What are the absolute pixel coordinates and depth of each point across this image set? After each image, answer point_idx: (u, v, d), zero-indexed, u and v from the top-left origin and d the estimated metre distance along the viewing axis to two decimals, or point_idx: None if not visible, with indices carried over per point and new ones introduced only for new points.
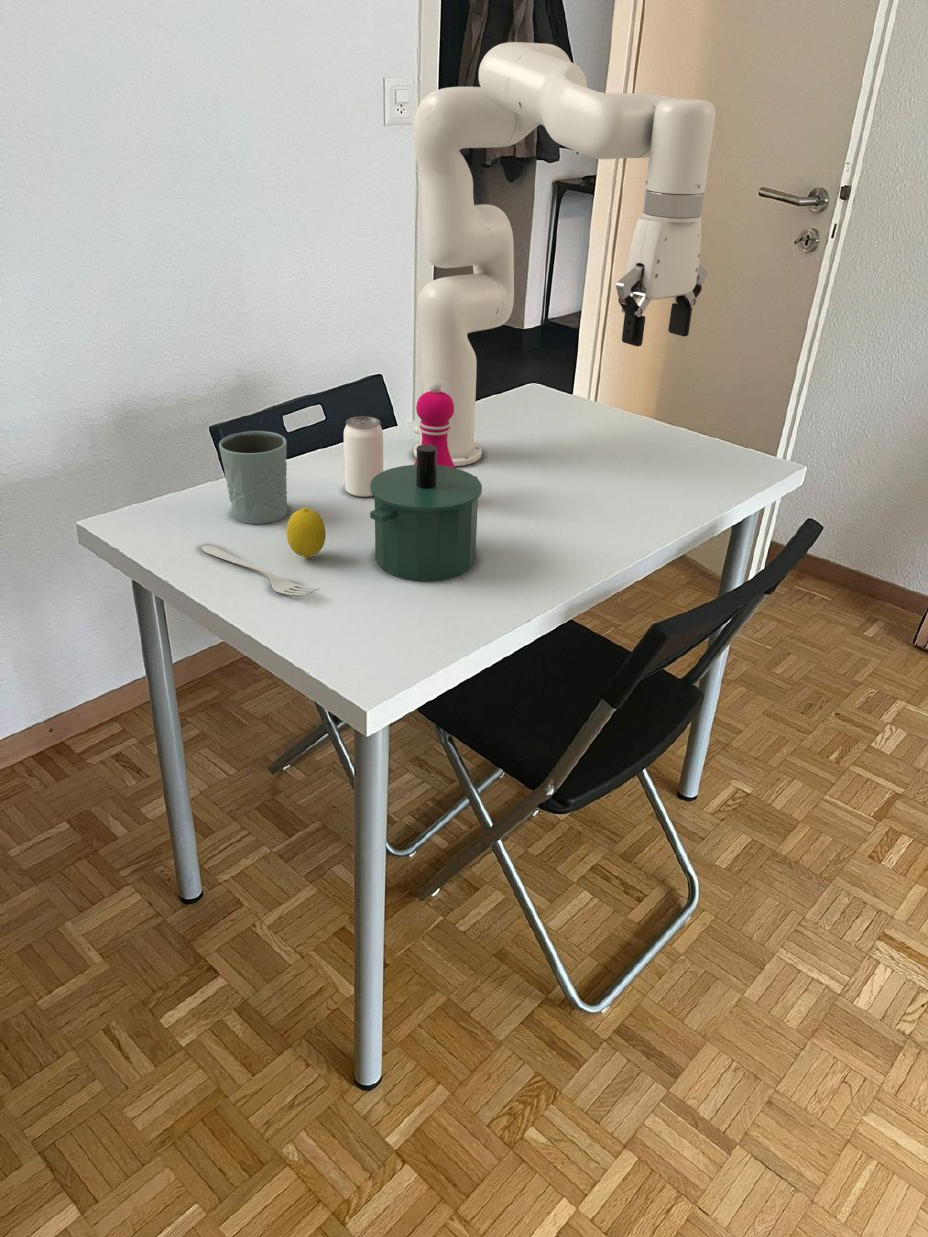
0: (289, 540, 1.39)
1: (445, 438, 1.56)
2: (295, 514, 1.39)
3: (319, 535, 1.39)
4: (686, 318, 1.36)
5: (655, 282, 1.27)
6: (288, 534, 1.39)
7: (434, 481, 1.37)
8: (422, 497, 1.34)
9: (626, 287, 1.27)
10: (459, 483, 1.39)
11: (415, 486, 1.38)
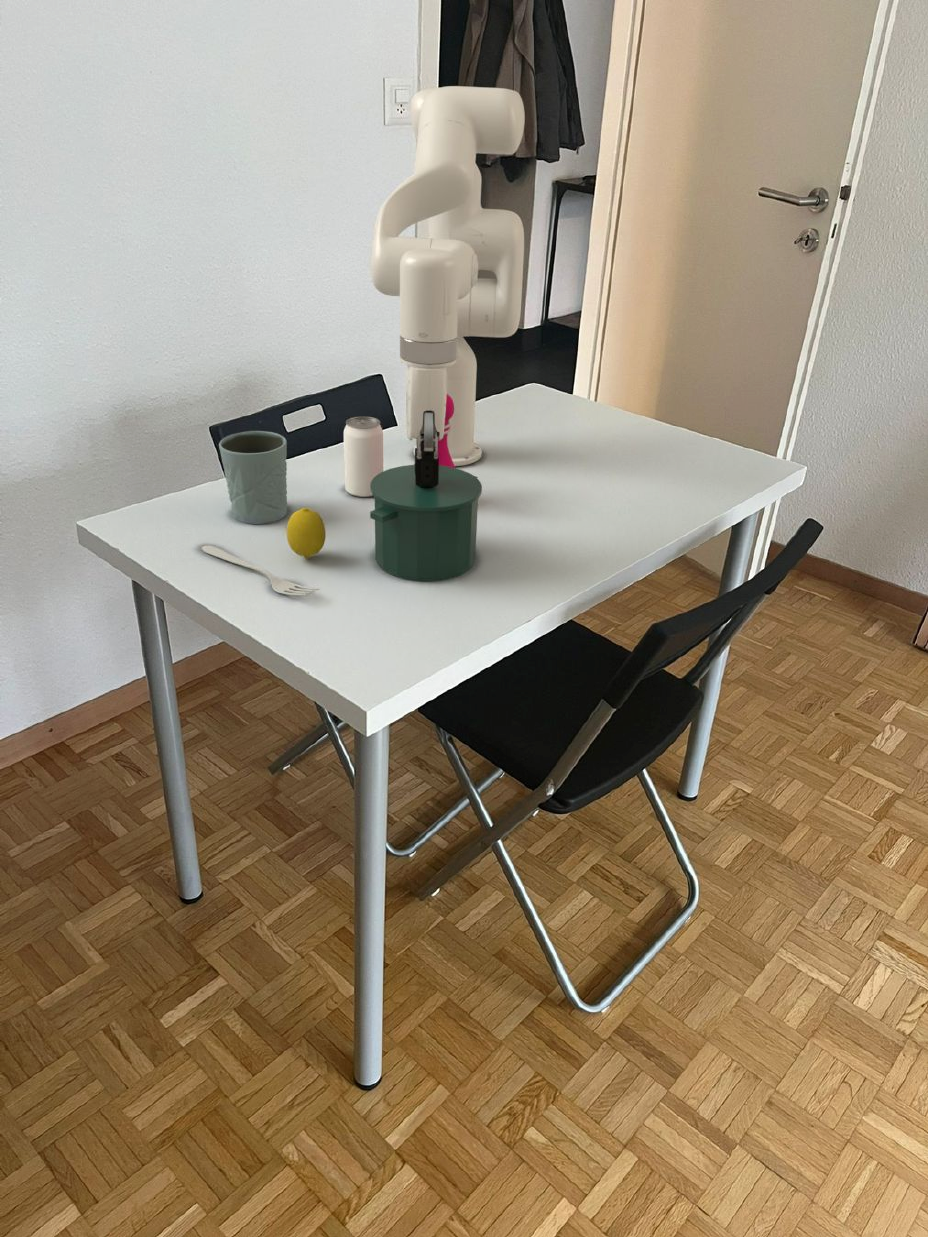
0: (289, 540, 1.39)
1: (445, 438, 1.56)
2: (295, 514, 1.39)
3: (319, 535, 1.39)
4: None
5: (444, 424, 1.30)
6: (288, 534, 1.39)
7: None
8: (422, 497, 1.34)
9: None
10: (459, 483, 1.39)
11: (415, 486, 1.38)
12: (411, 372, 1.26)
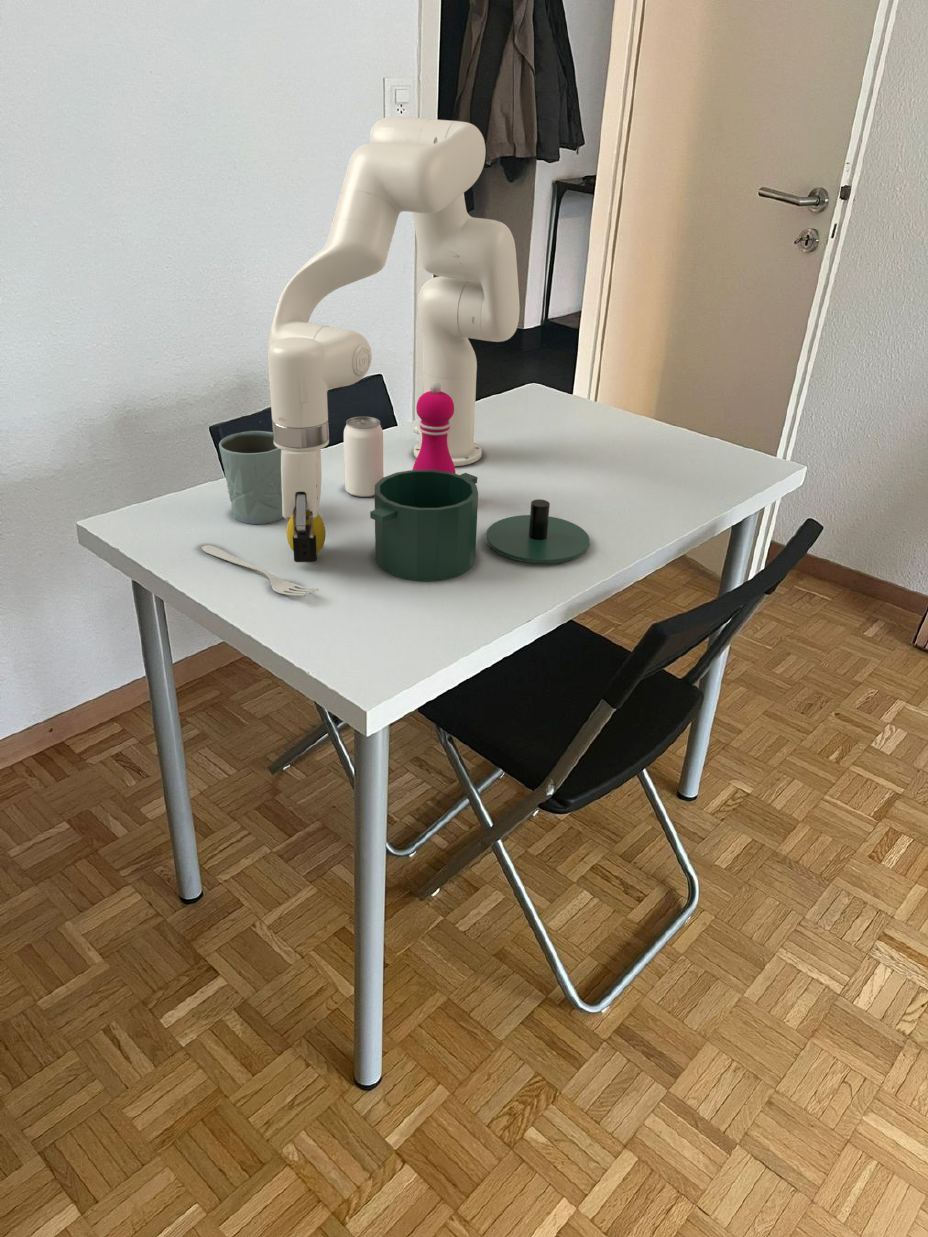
0: (289, 540, 1.39)
1: (445, 438, 1.56)
2: None
3: (319, 535, 1.39)
4: None
5: (317, 503, 1.34)
6: (288, 534, 1.39)
7: (546, 533, 1.48)
8: (537, 549, 1.45)
9: (305, 524, 1.33)
10: (567, 534, 1.50)
11: (528, 537, 1.48)
12: (282, 455, 1.31)
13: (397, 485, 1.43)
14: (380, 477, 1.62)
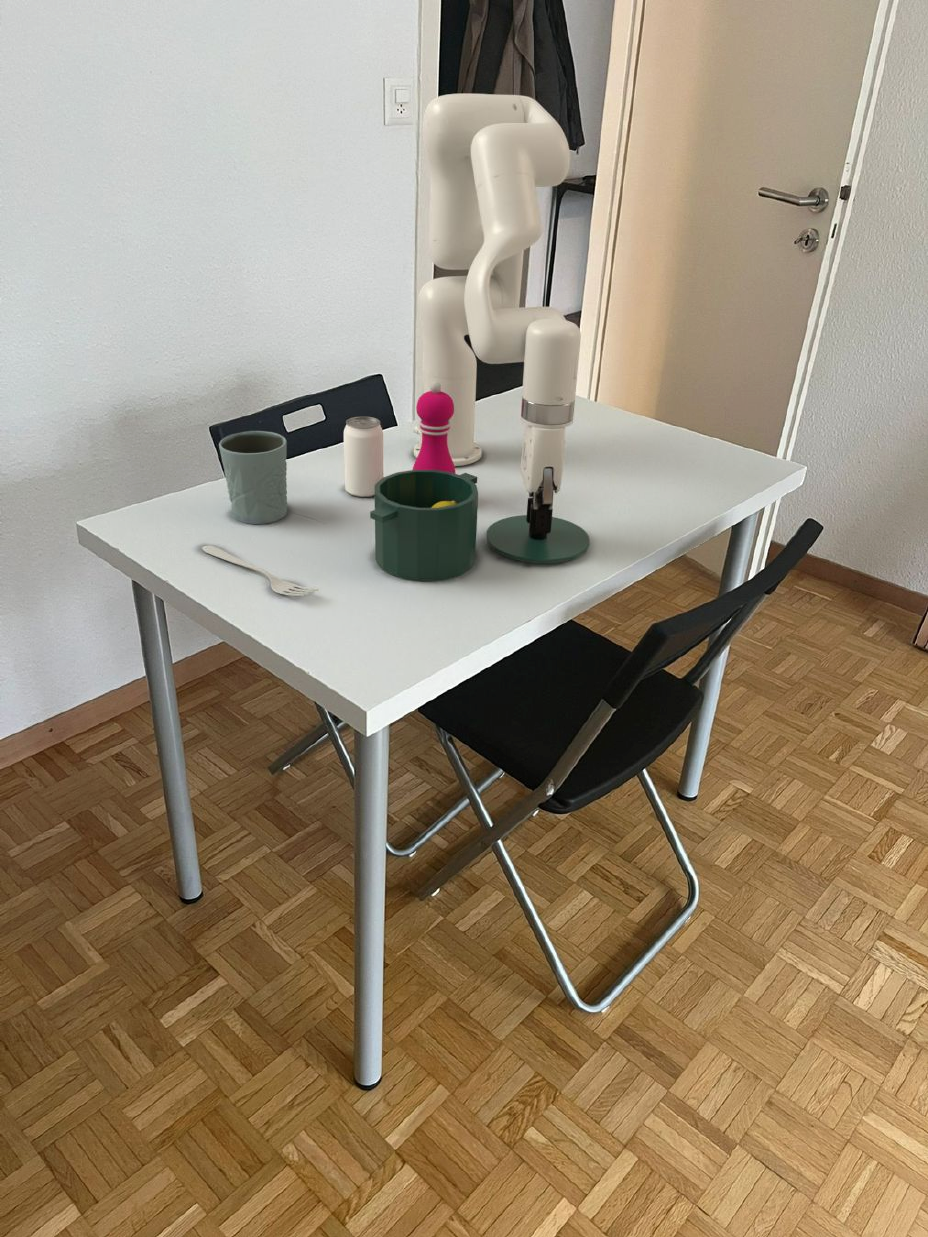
0: None
1: (445, 438, 1.56)
2: (445, 501, 1.43)
3: None
4: None
5: (561, 478, 1.40)
6: None
7: None
8: (537, 549, 1.45)
9: None
10: (567, 534, 1.50)
11: (528, 537, 1.48)
12: (534, 432, 1.37)
13: (397, 485, 1.43)
14: (380, 477, 1.62)
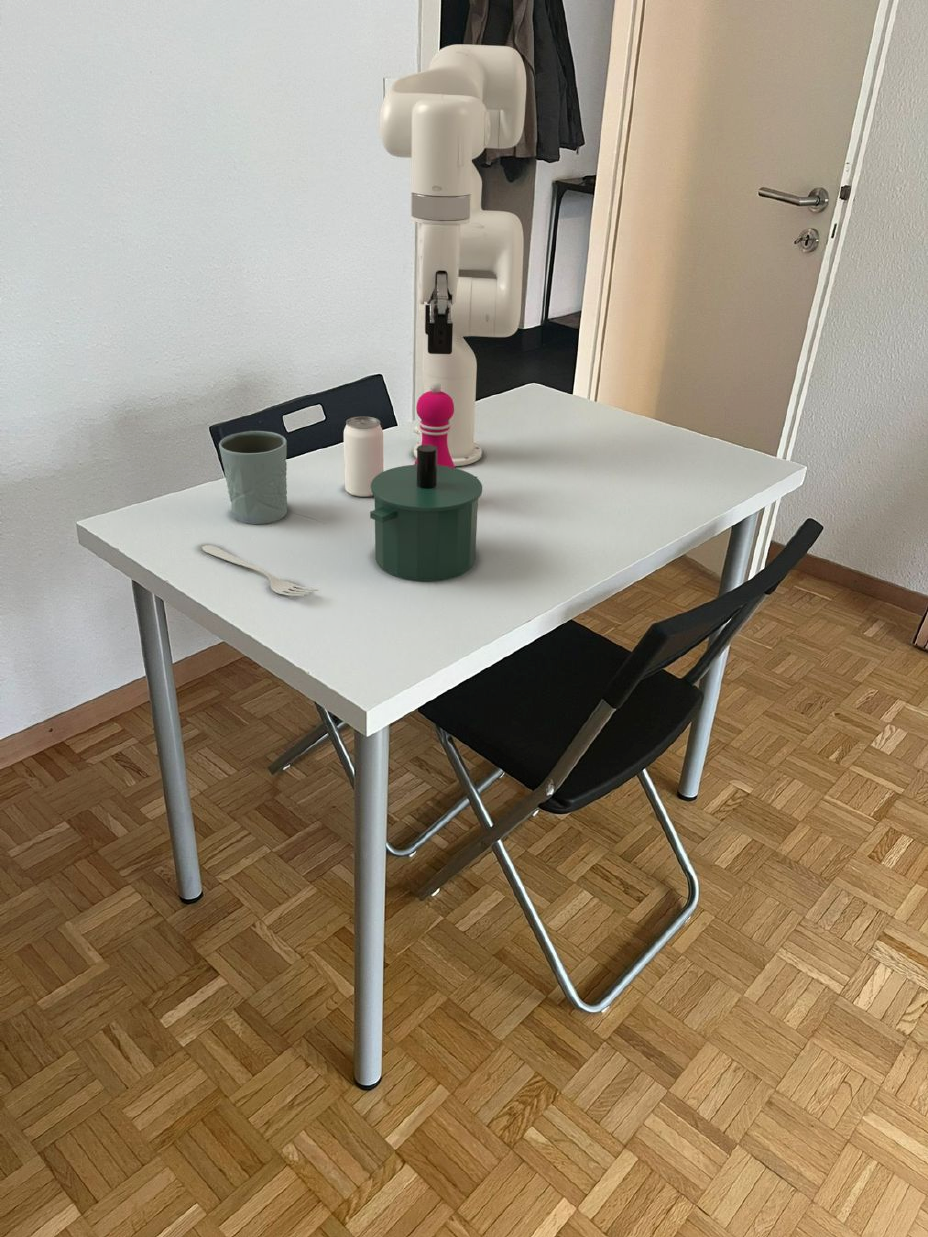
0: None
1: (445, 438, 1.56)
2: None
3: None
4: None
5: (457, 286, 1.25)
6: None
7: (434, 481, 1.37)
8: (422, 497, 1.34)
9: None
10: (459, 483, 1.39)
11: (415, 486, 1.38)
12: (423, 229, 1.22)
13: None
14: None
